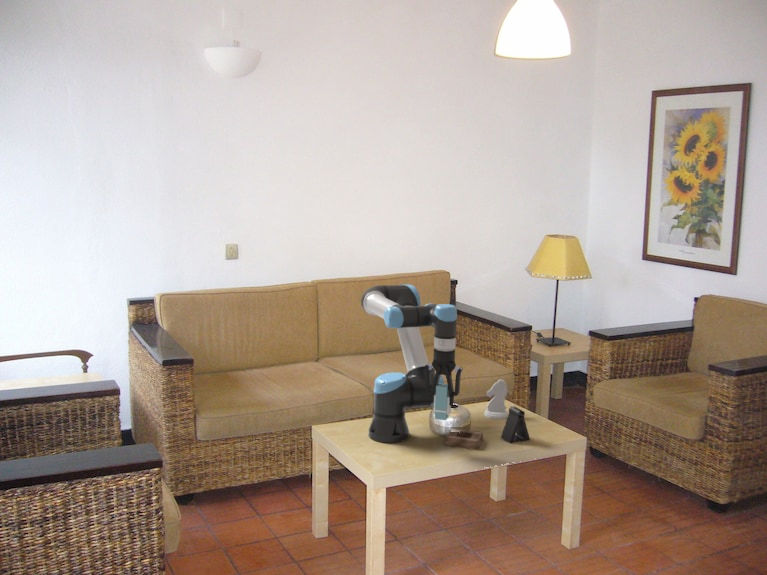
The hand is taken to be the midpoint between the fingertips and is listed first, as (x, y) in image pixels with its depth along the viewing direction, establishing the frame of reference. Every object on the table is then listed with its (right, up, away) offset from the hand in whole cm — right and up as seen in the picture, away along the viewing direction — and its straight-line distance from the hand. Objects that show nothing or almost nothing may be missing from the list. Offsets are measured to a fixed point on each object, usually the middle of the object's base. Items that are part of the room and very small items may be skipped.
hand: (441, 412), depth 278 cm
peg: (0, -2, 0) cm, 2 cm away
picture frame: (+29, -13, +15) cm, 35 cm away
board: (+9, -13, +10) cm, 19 cm away
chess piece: (+25, -8, +43) cm, 50 cm away
